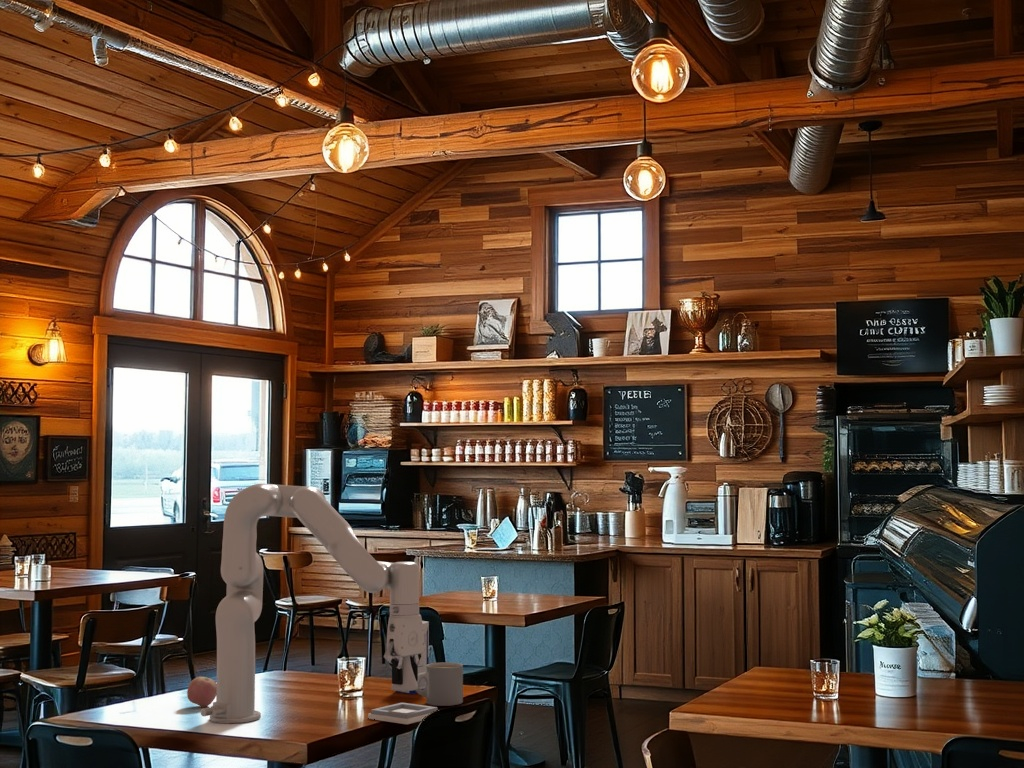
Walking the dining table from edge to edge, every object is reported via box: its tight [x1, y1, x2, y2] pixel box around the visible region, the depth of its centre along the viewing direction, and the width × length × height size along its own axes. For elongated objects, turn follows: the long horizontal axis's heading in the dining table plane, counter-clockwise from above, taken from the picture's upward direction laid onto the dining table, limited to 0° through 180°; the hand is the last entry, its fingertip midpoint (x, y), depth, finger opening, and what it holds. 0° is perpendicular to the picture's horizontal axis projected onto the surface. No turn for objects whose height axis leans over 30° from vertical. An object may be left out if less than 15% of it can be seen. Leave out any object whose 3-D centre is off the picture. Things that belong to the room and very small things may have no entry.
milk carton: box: [396, 620, 430, 695], centre depth 344 cm, size 7×7×20 cm
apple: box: [186, 676, 217, 708], centre depth 321 cm, size 8×8×8 cm
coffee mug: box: [415, 661, 464, 707], centre depth 326 cm, size 13×10×10 cm
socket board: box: [367, 702, 439, 725], centre depth 305 cm, size 13×13×2 cm
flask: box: [390, 656, 419, 692], centre depth 306 cm, size 7×7×10 cm
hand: (404, 681), depth 306 cm, fingers closed on flask, 5 cm apart
